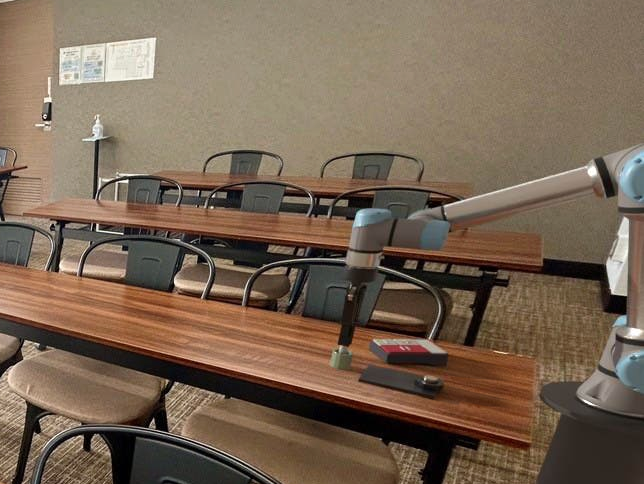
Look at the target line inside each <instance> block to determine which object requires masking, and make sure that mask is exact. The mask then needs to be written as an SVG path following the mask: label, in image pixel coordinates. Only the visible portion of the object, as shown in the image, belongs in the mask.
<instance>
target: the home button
mask: <svg viewBox="0 0 644 484" xmlns="http://www.w3.org/2000/svg"><path fill="white" fill-rule="evenodd" d="M423 376H424V378H423V381H424V382H426V383H430V384H436V383H437V380H438V379H439V378H438V377H437V376H434V375H427V374H426V375H423Z"/></svg>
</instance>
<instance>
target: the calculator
mask: <svg viewBox="0 0 644 484" xmlns="http://www.w3.org/2000/svg"><path fill="white" fill-rule="evenodd" d="M368 350H369V351H371V352H372V353H373V354H374V355H376V356H377V357H378V358H379V359H380V360H381V361H383V362H384V363H386V364H428V365H429V366H442V367H443V366H445V367H446V366H447V364H448V361H449V356H450V354H449V353H448V352H446V351H445V350H444V349H442V348H441V347H439V346H438V345H436V344H435V343H433V342H431V341H430V340H429V339H412V338H393V339H392V338H373V339H370V341H369V347H368Z"/></svg>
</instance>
